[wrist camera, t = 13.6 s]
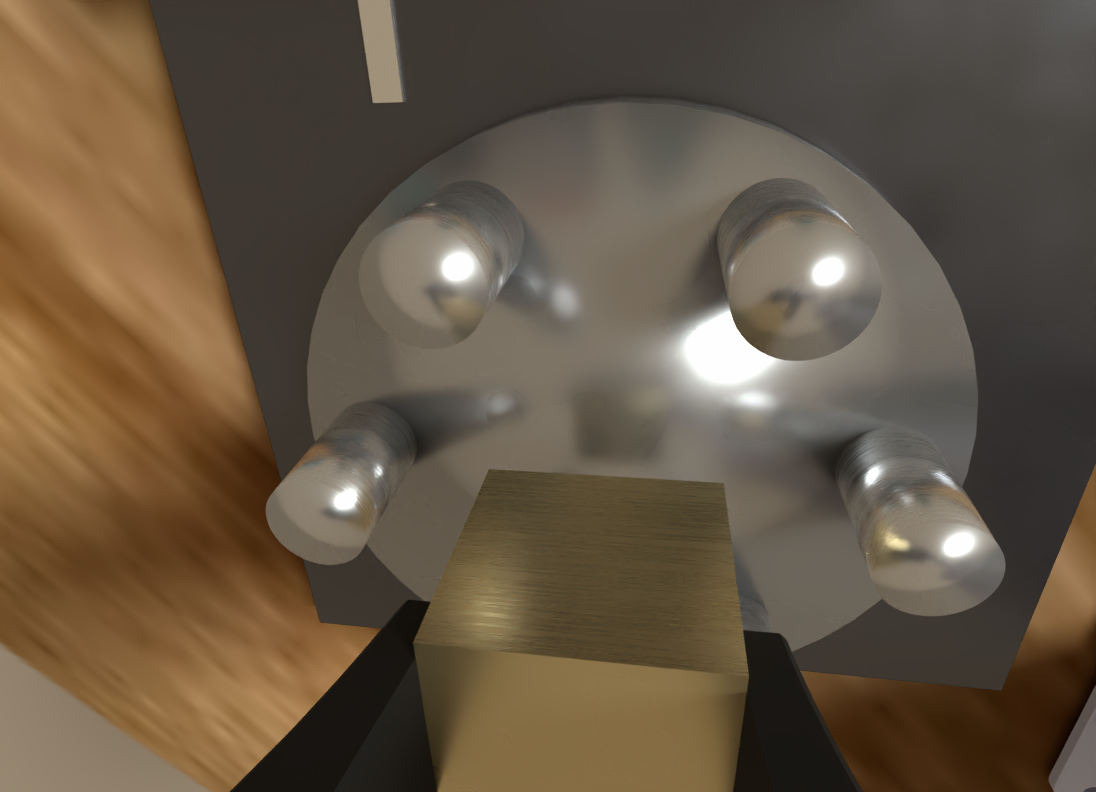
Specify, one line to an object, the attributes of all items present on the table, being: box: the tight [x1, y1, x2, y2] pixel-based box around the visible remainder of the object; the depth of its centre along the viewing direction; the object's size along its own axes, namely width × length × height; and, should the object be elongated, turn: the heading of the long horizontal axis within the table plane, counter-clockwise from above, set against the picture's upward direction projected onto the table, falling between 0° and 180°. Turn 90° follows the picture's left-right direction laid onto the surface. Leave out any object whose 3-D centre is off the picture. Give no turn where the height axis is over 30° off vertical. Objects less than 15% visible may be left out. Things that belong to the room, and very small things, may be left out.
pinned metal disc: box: [266, 96, 1005, 652], centre depth 14 cm, size 14×14×4 cm
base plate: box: [149, 0, 1096, 690], centre depth 13 cm, size 19×23×3 cm
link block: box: [413, 469, 749, 792], centre depth 11 cm, size 4×4×4 cm
